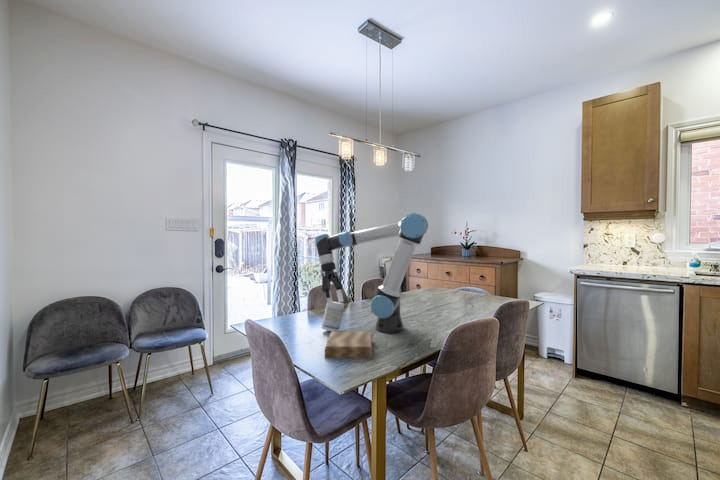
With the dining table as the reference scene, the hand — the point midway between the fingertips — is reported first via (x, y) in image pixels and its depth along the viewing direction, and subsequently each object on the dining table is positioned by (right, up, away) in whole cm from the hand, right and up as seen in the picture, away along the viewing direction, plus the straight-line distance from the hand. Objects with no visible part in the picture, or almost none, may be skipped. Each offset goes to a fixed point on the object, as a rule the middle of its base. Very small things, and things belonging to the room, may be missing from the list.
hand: (336, 303), depth 159 cm
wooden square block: (+8, -17, -19) cm, 27 cm away
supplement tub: (-4, -15, +4) cm, 16 cm away
